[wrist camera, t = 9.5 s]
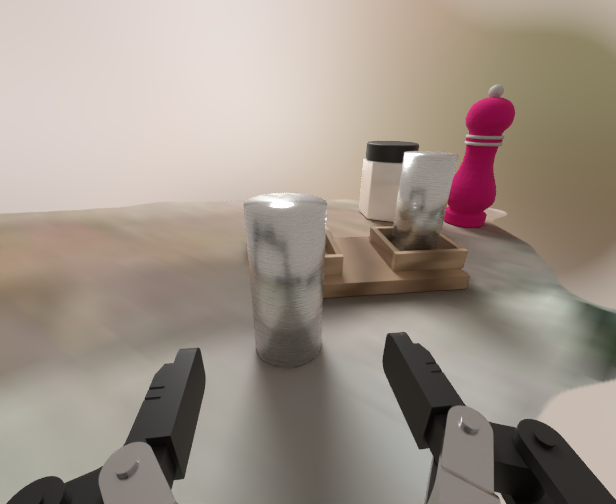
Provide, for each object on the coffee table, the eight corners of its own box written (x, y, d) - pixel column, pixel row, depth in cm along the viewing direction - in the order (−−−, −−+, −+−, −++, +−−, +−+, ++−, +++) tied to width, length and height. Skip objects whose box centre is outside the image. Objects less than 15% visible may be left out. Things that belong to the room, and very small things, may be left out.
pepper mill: (496, 224, 47) (539, 84, 38) (470, 232, 44) (512, 80, 35) (455, 212, 53) (486, 87, 44) (430, 218, 49) (458, 84, 41)
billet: (254, 371, 19) (240, 217, 15) (257, 323, 24) (246, 193, 19) (326, 364, 20) (334, 214, 15) (315, 318, 25) (319, 192, 20)
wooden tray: (265, 301, 27) (263, 268, 25) (265, 251, 37) (264, 225, 35) (469, 288, 29) (478, 257, 28) (418, 244, 39) (423, 220, 38)
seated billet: (400, 264, 30) (418, 157, 26) (383, 245, 35) (396, 151, 30) (443, 262, 31) (469, 157, 26) (421, 244, 36) (440, 151, 31)
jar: (410, 210, 53) (422, 142, 48) (408, 224, 46) (421, 146, 41) (363, 205, 56) (369, 140, 51) (353, 217, 49) (360, 143, 44)
